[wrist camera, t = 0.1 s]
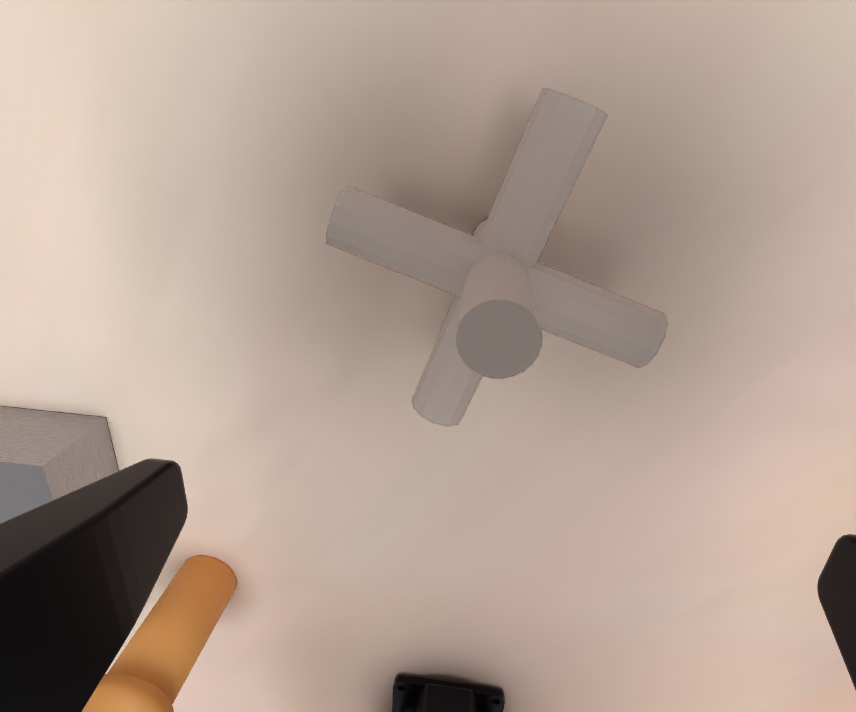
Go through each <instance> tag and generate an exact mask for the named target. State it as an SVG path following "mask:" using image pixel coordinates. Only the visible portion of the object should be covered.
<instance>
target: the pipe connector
mask: <svg viewBox="0 0 856 712" xmlns="http://www.w3.org/2000/svg"><path fill="white" fill-rule="evenodd" d="M606 117H607V114H606V113H605V112H603V111H601V110H599V109H598V108H596V107H593V106H591V105H589V104H587V103H585V102H582V101H580V100H578V99H575V98H573V97H570V96H568V95H565V94H563V93H560V92H557V91H554V90H550V89H546V88H542V91H541V93H540V95H539V98H538V100H537V103H536V105H535V107H534V110H533V112H532V114H531V117H530V119H529V122H528V124H527V126H526V129H525V131H524V134H523V136H522V138H521V141H520V143H519V145H518V148H517V150H516V153H515V155H514V157H513V160H512V162H511V164H510V167H509V169H508V172H507V174H506V176H505V179H504V181H503V184H502V186H501V188H500V191H499V193H498V195H497V198H496V200H495V203H494V205H493V207H492V210H491V212H490V214H489V217H488V219H486V220H484V221H482V222H481V223H480V224H479V225H478V226H477V227H476V229H475V231H474V233H473V236H472V235H469V234H467V233H464V232H462V231H459V230H457V229H454V228H452V227H449V226H447V225H444V224H442V223H439V222H437V221H435V220H432V219H430V218H427V217H425V216H422V215H420V214H417V213H415V212H412V211H410V210H407V209H405V208H402V207H400V206H397V205H395V204H393V203H390V202H388V201H385V200H383V199H380V198H378V197H375V196H373V195H370V194H368V193H365V192H363V191H360V190H358V189H355V188H353V187H351V186H348V185H347V186H346V187H345V188H344V189H343V190H342V192H341V194H340V196H339V198H338V200H337V202H336V204H335V206H334V209H333V212H332V215H331V218H330V221H329V225H328V230H327V234H326V244H328V245H331V246H333V247H336V248H338V249H341V250H343V251H346V252H348V253H351V254H353V255H356V256H358V257H361V258H363V259H366V260H368V261H371V262H374V263H376V264H379V265H381V266H384V267H386V268H389V269H391V270H394V271H396V272H399V273H401V274H404V275H406V276H409V277H411V278H414V279H416V280H419V281H421V282H424V283H426V284H429V285H431V286H434V287H436V288H439V289H441V290H444V291H446V292H449V293H451V294H454V295H455V298H454V300H453V303H452V305H451V307H450V310H449V312H448V314H447V317H446V319H445V322H444V324H443V326H442V329H441V331H440V334H439V336H438V338H437V341H436V343H435V345H434V348H433V350H432V353H431V355H430V357H429V360H428V362H427V364H426V367H425V369H424V372H423V374H422V376H421V379H420V381H419V384H418V386H417V388H416V391H415V393H414V395H413V398H412V404H413V408H414V409H415V410H416V411H417V412H418V414H419V415H420V416H421V417H423V418H425V419H427V420H428V421H430V422H432V423H434V424H438V425H442V426H447V427H448V426H454V425H458V424H459V422H460V421H461V419H462V417H463V415H464V413H465V411H466V409H467V407H468V405H469V403H470V401H471V399H472V396H473V394H474V392H475V390H476V388H477V386H478V384H479V382H480V380H481V378H482V376H485V377H489V378H502V379H503V378H508V377H512V376H515V375H517V374H519V373H521V372H524V371H525V370H526V369H527V368H528V367H530V366H531V365H532V364H533V362H534V361H535V359H536V358H537V357H538V354H539V352H540V349H541V346H542V333H541V329H542V330H544V331H547V332H549V333H552V334H554V335H557V336H559V337H562V338H564V339H567V340H569V341H572V342H574V343H577V344H579V345H582V346H585V347H587V348H590V349H592V350H595V351H597V352H600V353H602V354H605V355H607V356H610V357H612V358H615V359H617V360H620V361H622V362H625V363H627V364H630V365H632V366H635V367H637V368H641V367H643V366H645V365H646V364H648V363H649V362H650V361H651V360H652V358H653V357H654V356H655V355H656V354H657V352H658V350H659V348H660V346H661V344H662V342H663V340H664V338H665V334H666V329H667V319H666V315H665V314H664V313H662V312H659V311H657V310H654V309H652V308H649V307H647V306H644V305H642V304H639V303H637V302H635V301H632V300H630V299H627V298H625V297H622V296H620V295H617V294H615V293H612V292H610V291H607V290H605V289H602V288H600V287H597V286H595V285H593V284H590V283H588V282H585V281H583V280H580V279H578V278H575V277H573V276H570V275H568V274H565V273H563V272H560V271H558V270H555V269H553V268H551V267H548V266H546V265H543V264H541V263H538V262H537V261H538V259H539V257H540V254H541V252H542V250H543V248H544V246H545V244H546V242H547V240H548V238H549V236H550V234H551V231H552V229H553V227H554V225H555V223H556V221H557V219H558V217H559V215H560V213H561V211H562V209H563V206H564V204H565V202H566V200H567V198H568V196H569V194H570V192H571V190H572V188H573V186H574V183H575V181H576V179H577V177H578V175H579V173H580V171H581V169H582V167H583V165H584V163H585V160H586V158H587V156H588V154H589V152H590V150H591V148H592V146H593V144H594V142H595V140H596V138H597V135H598V133H599V131H600V129H601V127H602V125H603V123H604V121H605V119H606Z"/></svg>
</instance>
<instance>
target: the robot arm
mask: <svg viewBox="0 0 856 712" xmlns="http://www.w3.org/2000/svg"><path fill="white" fill-rule="evenodd" d="M187 512H188V506H187V499H186V494H185V488H184V483H183V477H182V472H181V468H180V466H179V465H178V463H176V462H174V461H171V460H161V459H146V460H143V461H141V462H138V463H136V464H134V465H132V466H129V467H127V468H125V469H123V470H120V471H118V472H116V473H114V474H111V475H109V476H107V477H104V478H102V479H100V480H98V481H95V482H93V483H91V484H89V485H86V486H84V487H82V488H79V489H77V490H75V491H73V492H70V493H68V494H66V495H64V496H61V497H59V498H57V499H54V500H52V501H50V502H48V503H45V504H43V505H41V506H39V507H36V508H34V509H32V510H29V511H27V512H25V513H23V514H20V515H18V516H16V517H14V518H11V519H9V520H7V521H5V522H2V523H0V712H82V710H83V709H84V707H85V706H86V704H87V702H88V701H89V699H90V697H91V696H92V694H93V692H94V691H95V689H96V688H97V686H98V684H99V683H100V681H101V679H102V678H103V676H104V675H105V673H106V671H107V670H108V668H109V666H110V665H111V663H112V661H113V660H114V658H115V657H116V655H117V653H118V652H119V650H120V648H121V647H122V645H123V644H124V642H125V640H126V638H127V637H128V635H129V633H130V632H131V630H132V628H133V627H134V625H135V623H136V621H137V619H138V617H139V615H140V614H141V612H142V610H143V608H144V606H145V604H146V602H147V600H148V598H149V596H150V594H151V592H152V589H153V587H154V585H155V583H156V581H157V579H158V577H159V575H160V573H161V571H162V569H163V567H164V565H165V563H166V561H167V559H168V557H169V555H170V553H171V550H172V548H173V546H174V544H175V542H176V540H177V538H178V536H179V534H180V532H181V530H182V528H183V526H184V524H185V521H186V518H187ZM818 596H819V599H820V602H821V605H822V607H823V610H824V612H825V615H826V617H827V620H828V622H829V625H830V627H831V630H832V632H833V635H834V637H835V640H836V642H837V645H838V647H839V650H840V652H841V655H842V657H843V660H844V662H845V665H846V667H847V670H848V672H849V675H850V677H851V680H852V682H853V685H854V687H855V690H856V535H852V534H848V535H843V536H842V537H841V538H839V539H838V540H837V542H836V543H835V546H834V548H833V550H832V552H831V554H830V556H829V558H828V560H827V562H826V564H825V566H824V568H823V570H822V573H821V575H820V577H819V580H818ZM504 704H505V696H504V693H503V692H502V691H501V690H498V689H492V688H485V687H478V686H471V685H464V684H457V683H449V682H442V681H435V680H428V679H421V678H414V677H407V676H398V677H396V678H395V680H394V685H393V706H392V712H503V709H504Z"/></svg>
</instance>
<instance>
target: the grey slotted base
mask: <svg viewBox="0 0 856 712" xmlns="http://www.w3.org/2000/svg"><path fill="white" fill-rule="evenodd" d="M116 472H118V467H117V463H116V458H115V454H114V450H113V446H112V441H111V437H110V433H109V429H108V424H107V420H106V417H96V416H87V415H78V414H68V413H59V412H50V411H40V410H31V409H22V408H13V407H3V406H0V523H2V522H5V521H7V520H9V519H11V518H14V517H16V516H18V515H20V514H23V513H25V512H27V511H29V510H32V509H34V508H36V507H39V506H41V505H43V504H45V503H48V502H50V501H52V500H54V499H57V498H59V497H61V496H64V495H66V494H68V493H70V492H73V491H75V490H77V489H79V488H82V487H84V486H86V485H89V484H91V483H93V482H95V481H98V480H100V479H102V478H104V477H107V476H109V475H111V474H114V473H116Z"/></svg>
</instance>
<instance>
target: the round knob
mask: <svg viewBox="0 0 856 712" xmlns="http://www.w3.org/2000/svg"><path fill="white" fill-rule="evenodd" d="M236 585H237V580H236V577H235V574H234V573H233V571H232V570H231V569H230V568H229V567H228V566H227V565H226V564H225V563H223V562H222V561H220V560H218V559H216V558H213V557H209V556H194V557H191V558H189V559H188V560H186V561H185V563H184V564H183V565H182V567H181V568H180V570H179V571H178V573H177V574H176V575H175V577H174V578H173V580H172V581H171V583H170V584H169V585H168V587H167V588H166V590H165V591H164V593H163V594H162V596H161V597H160V598H159V600H158V601H157V603H156V604H155V606H154V607H153V609H152V610H151V611H150V613H149V614H148V616H147V617H146V619H145V620H144V622H143V623H142V624H141V626H140V627H139V629H138V630H137V632H136V633H135V635H134V636H133V637H132V639H131V640H130V642H129V643H128V645H127V646H126V647H125V649H124V650H123V652H122V653H121V655H120V656H119V658H118V659H117V660H116V662H115V663H114V665H113V666H112V668H111V669H110V671H109V672H108V673H107V674H105V675H104V676H103V678H102V679H101V681H100V683H99V684H98V686H97V688H96V689H95V691H94V692H93V694H92V696H91V697H90V699H89V701H88V702H87V704H86V706H85V707H84V709H83V710H82V712H174V711H173V706H172V704H173V702H174V700H175V698H176V697H177V695H178V693H179V691H180V689H181V687H182V686H183V684H184V682H185V680H186V678H187V676H188V675H189V673H190V671H191V669H192V667H193V666H194V664H195V662H196V660H197V658H198V656H199V655H200V653H201V651H202V649H203V647H204V645H205V644H206V642H207V640H208V638H209V636H210V634H211V633H212V631H213V629H214V627H215V625H216V623H217V622H218V620H219V618H220V616H221V614H222V612H223V611H224V609H225V607H226V605H227V603H228V601H229V600H230V598H231V596H232V594H233V592H234V590H235V589H236Z"/></svg>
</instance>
